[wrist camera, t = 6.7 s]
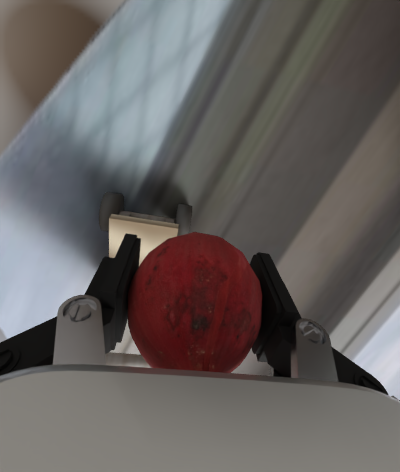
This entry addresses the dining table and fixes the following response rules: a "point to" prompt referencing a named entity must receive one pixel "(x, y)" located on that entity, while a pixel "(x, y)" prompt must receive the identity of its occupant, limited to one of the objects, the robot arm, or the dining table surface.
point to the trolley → (151, 235)
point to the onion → (195, 305)
